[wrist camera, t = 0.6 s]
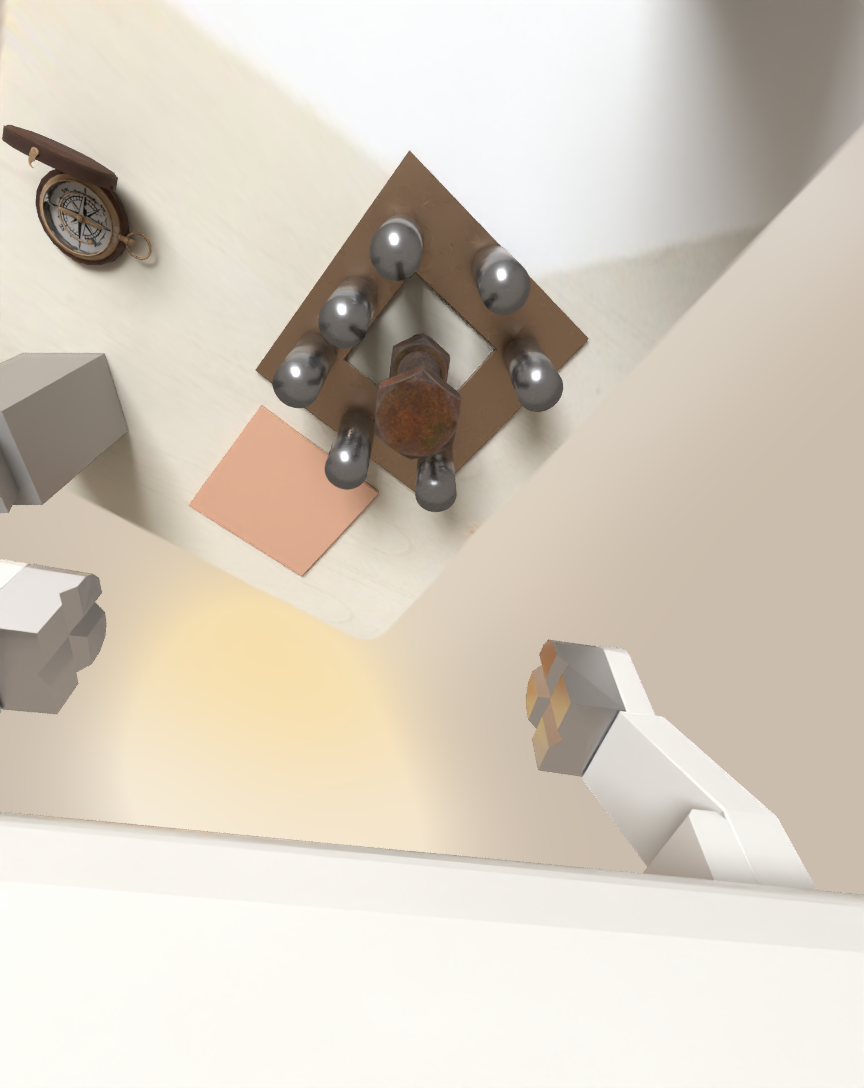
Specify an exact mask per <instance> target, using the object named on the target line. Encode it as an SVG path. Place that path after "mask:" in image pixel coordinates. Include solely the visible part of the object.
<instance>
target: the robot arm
mask: <svg viewBox="0 0 864 1088" xmlns="http://www.w3.org/2000/svg"><path fill="white" fill-rule="evenodd" d="M101 593H102V591H101V586H100V581H99V578H98V577H97V576H95V575H94V574H91V573H85V572H79V571H72V570H67V569H61V568H55V567H49V566H43V565H37V564H27V563H22V562H16V561H10V560H4V559H3V560H0V713H1V709H5V710H15V711H26V712H38V713H50V714H58V712H59V711H60V709H61V708H62V706H63V705H64V704H65V702H66V700H67V699H68V698H69V696H70V695H71V694H72V692H73V691H74V689H75V688H76V686H77V685H78V680H77V674H76V672H78V671H79V670H82V669H83V668H85V667H87V666H89V665H91V664H92V663H93V661H94V660H95V658H96V657H97V655H98V654H99V652H100V650H101V647H102V644H103V641H104V638H105V633H106V617H105V612H104V611H103V610H102V609H101V608H100V607H99V606H98V605H97V604H96V603H95V601H96V600H97V599H98V597H99V596H100V595H101ZM540 659H541V663H542V665H541V666H540V667H538V668H537V669H535V670H534V671H533V672H532V674H531V677H530V680H529V682H528V687H527V694H526V709H527V715H528V720H529V721H530V722H531V723H532V724H533V725H534V726H535V727H536V729H537V730H536V732H535V734H534V736H533V739H532V742H533V746H534V752H535V757H536V762H537V766H538V770H540V771H547V772H554V773H561V774H569V775H575V776H582V780H583V781H584V782H585V784H586V785H587V787H588V788H589V789H590V791H591V792H592V793H593V794H594V796H595V797H596V799H597V800H598V801H599V803H600V804H601V805H602V807H603V808H604V809H605V811H606V812H607V813H608V815H609V816H610V817H611V818H612V820H613V821H614V823H615V824H616V825H617V827H618V828H619V829H620V831H621V832H622V833H623V835H624V836H625V837H626V839H627V840H628V841H629V843H630V844H631V845H632V847H633V848H634V849H635V851H636V852H637V853H638V855H639V856H640V857H641V859H642V860H643V861H644V863H645V864H646V865H647V869H646V870H645V871H644V872H643V873H634V872H624V871H613V870H603V869H593V868H582V867H571V866H562V865H552V864H541V863H531V862H520V861H510V860H500V859H489V858H478V857H467V856H457V855H447V854H436V853H425V852H415V851H404V850H393V849H383V848H373V847H362V846H351V845H341V844H331V843H321V842H310V841H300V840H289V839H279V838H268V837H259V836H249V835H238V834H228V833H217V832H208V831H197V830H187V829H176V828H165V827H156V826H144V825H134V824H125V823H114V822H104V821H93V820H83V819H73V818H63V817H52V816H42V815H31V814H21V813H11V812H0V1088H864V895H862V894H852V893H842V892H831V891H820V890H817V889H816V887H815V885H814V884H813V882H812V880H811V878H810V876H809V874H808V873H807V871H806V869H805V867H804V865H803V863H802V862H801V860H800V858H799V856H798V854H797V853H796V851H795V849H794V847H793V845H792V843H791V842H790V840H789V838H788V836H787V834H786V833H785V831H784V829H783V827H782V825H781V824H780V822H779V820H778V818H777V817H776V816H775V815H774V814H773V813H772V812H771V811H769V810H768V809H767V808H766V807H765V806H764V805H763V804H762V803H761V802H759V801H758V800H757V799H756V798H755V797H754V796H752V795H751V794H750V793H749V792H748V791H747V790H746V789H745V788H743V787H742V786H741V785H740V784H739V783H738V782H736V781H735V780H734V779H733V778H732V777H731V776H730V775H729V774H728V773H726V772H725V771H724V770H723V769H722V768H721V767H720V766H718V765H717V764H716V763H715V762H714V761H713V760H712V759H711V758H709V757H708V756H707V755H706V754H705V753H704V752H703V751H701V750H700V749H699V748H698V747H697V746H696V745H695V744H693V743H692V742H691V741H690V740H689V739H688V738H687V737H685V736H684V735H683V734H682V733H681V732H680V731H679V730H677V729H676V728H675V727H674V726H673V725H672V724H671V723H669V722H668V721H667V720H666V719H665V718H664V717H660V716H656V715H655V713H654V711H653V709H652V706H651V704H650V702H649V699H648V697H647V695H646V693H645V691H644V688H643V686H642V684H641V681H640V679H639V677H638V674H637V672H636V670H635V667H634V665H633V663H632V661H631V658H630V656H629V654H628V653H627V652H626V651H625V650H624V649H618V648H610V647H602V646H598V647H596V646H590V645H583V644H575V643H569V642H562V641H554V640H548V641H547V642H546V643H545V644H544V645H543V648H542V650H541V652H540Z"/></svg>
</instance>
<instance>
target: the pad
mask: <svg viewBox="0 0 864 1088" xmlns="http://www.w3.org/2000/svg"><path fill="white" fill-rule="evenodd" d="M327 458H328V454H327V453H326V452H324V451H323V450H321V449H320V448H319V447H317V446H316V445H315V444H313V443H312V442H311V441H309V440H308V439H307V438H305V437H304V436H303V435H301V434H300V433H298V432H297V431H296V430H294V429H293V428H292V427H290V426H289V425H288V424H286V423H285V422H284V421H282V420H281V419H280V418H278V417H277V416H275V415H274V414H273V413H271V412H270V411H269V410H267V409H266V408H265V407H263V406H261V407H260V408H259V410H258V411H257V412H256V414H255V415H254V416H253V418H252V419H251V421H250V422H249V423H248V425H247V426H246V427H245V429H244V430H243V432H242V433H241V434H240V436H239V437H238V438H237V440H236V441H235V442H234V444H233V445H232V447H231V448H230V449H229V451H228V452H227V453H226V455H225V456H224V457H223V459H222V460H221V462H220V463H219V464H218V466H217V467H216V468H215V470H214V471H213V473H212V474H211V475H210V477H209V478H208V479H207V481H206V482H205V483H204V485H203V486H202V488H201V489H200V490H199V492H198V493H197V494H196V496H195V497H194V498H193V500H192V501H191V503H190V504H189V506H190V507H192V508H194V509H195V510H197V511H198V512H200V513H202V514H203V515H205V516H206V517H208V518H210V519H211V520H213V521H214V522H216V523H218V524H219V525H221V526H222V527H224V528H226V529H227V530H229V531H230V532H232V533H233V534H235V535H237V536H238V537H240V538H241V539H243V540H245V541H246V542H248V543H249V544H251V545H253V546H254V547H256V548H257V549H259V550H261V551H262V552H264V553H265V554H267V555H268V556H270V557H272V558H273V559H275V560H276V561H278V562H280V563H281V564H283V565H284V566H286V567H288V568H289V569H291V570H292V571H294V572H296V573H297V574H299V575H300V576H302V575H303V574H304V573H305V572H306V571H307V570H308V569H309V568H310V567H311V566H312V564H313V563H314V562H315V561H316V560H317V559H318V558H319V557H320V556H321V555H322V554H323V553H324V552H325V551H326V549H327V548H328V547H329V546H330V545H331V544H332V543H333V542H334V541H335V540H336V539H337V538H338V537H339V536H340V534H341V533H342V532H343V531H344V530H345V529H346V528H347V527H348V526H349V525H350V524H351V523H352V522H353V520H354V519H355V518H356V517H357V516H358V515H359V514H360V513H361V512H362V511H363V510H364V509H365V508H366V507H367V505H368V504H369V503H370V502H371V501H372V500H373V499H374V498H375V497H376V496H377V495H378V493H379V492H378V491H377V490H376V489H374V488H373V487H372V486H370V485H369V484H367V483H366V482H365V481H364V482H363V483H362V484H361V485H360V486H359V487H357V488H354V489H349V490H346V489H340V488H338V487H336V486H334V485H333V484H331V483H330V482H329V480H328V479H327V477H326V475H325V463H326V461H327Z"/></svg>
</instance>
